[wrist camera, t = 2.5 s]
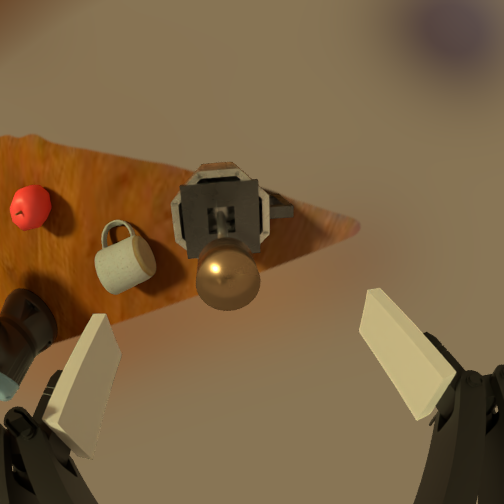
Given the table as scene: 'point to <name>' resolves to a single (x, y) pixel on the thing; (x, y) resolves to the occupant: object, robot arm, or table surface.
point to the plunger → (226, 266)
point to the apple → (30, 207)
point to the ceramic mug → (124, 261)
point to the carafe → (224, 195)
